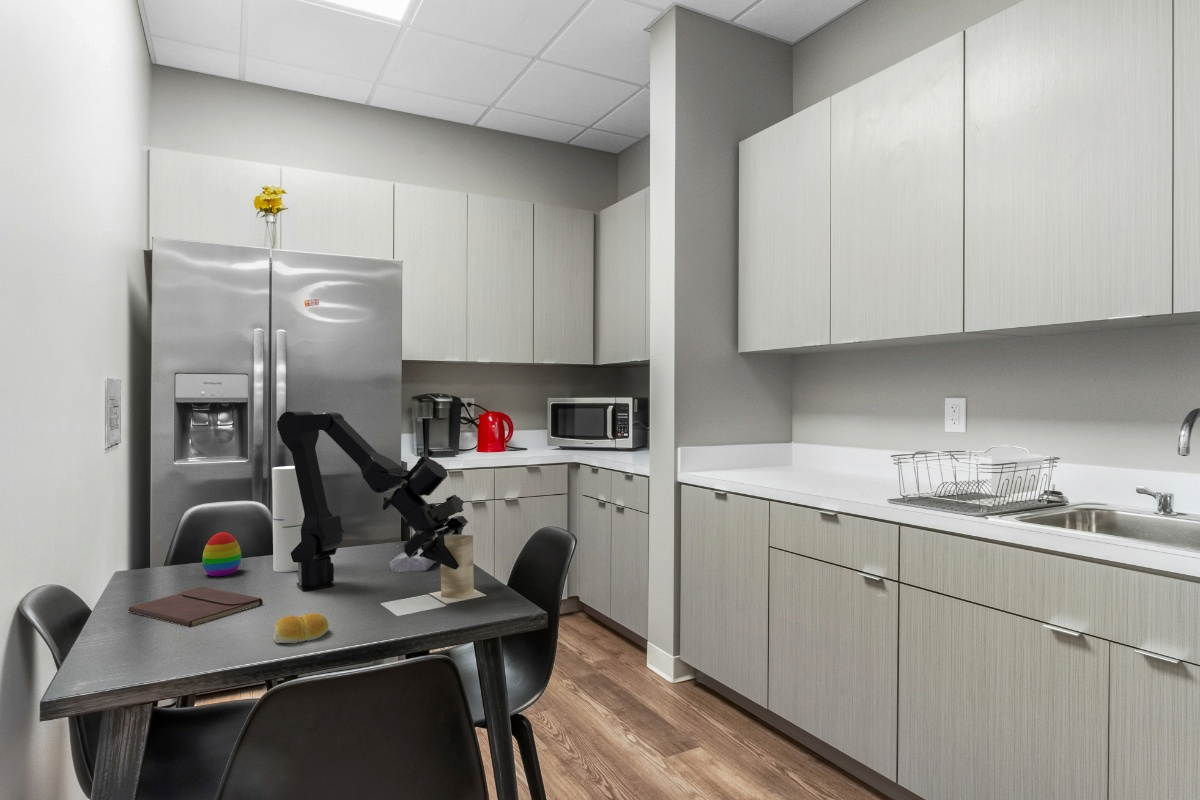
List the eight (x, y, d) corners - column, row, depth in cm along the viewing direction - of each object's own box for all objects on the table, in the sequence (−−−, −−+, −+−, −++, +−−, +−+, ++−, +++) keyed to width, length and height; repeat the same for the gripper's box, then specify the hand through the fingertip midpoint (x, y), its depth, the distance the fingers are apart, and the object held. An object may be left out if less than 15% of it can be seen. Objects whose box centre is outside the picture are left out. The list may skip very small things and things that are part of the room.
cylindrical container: (284, 564, 170) (283, 465, 170) (311, 565, 169) (309, 466, 169) (267, 571, 163) (265, 468, 163) (294, 572, 162) (293, 469, 162)
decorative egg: (220, 568, 166) (220, 528, 166) (249, 570, 165) (248, 529, 165) (194, 577, 158) (193, 535, 158) (224, 578, 157) (223, 536, 157)
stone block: (388, 581, 160) (428, 572, 160) (384, 561, 160) (424, 552, 160) (403, 570, 172) (441, 562, 172) (400, 551, 172) (437, 543, 172)
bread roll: (332, 638, 117) (332, 615, 117) (276, 649, 112) (276, 625, 112) (323, 624, 124) (322, 603, 124) (269, 635, 119) (269, 612, 119)
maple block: (441, 597, 139) (440, 539, 139) (452, 590, 144) (451, 534, 144) (463, 598, 138) (462, 540, 138) (473, 591, 143) (473, 535, 143)
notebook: (188, 630, 123) (188, 619, 123) (128, 615, 132) (128, 604, 132) (262, 606, 136) (262, 597, 136) (203, 594, 145) (203, 585, 145)
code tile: (446, 605, 134) (446, 603, 134) (428, 594, 142) (428, 593, 142) (486, 596, 140) (486, 595, 140) (468, 587, 147) (468, 585, 147)
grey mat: (397, 617, 127) (397, 616, 127) (380, 604, 135) (380, 603, 135) (446, 607, 133) (446, 605, 133) (427, 595, 141) (427, 594, 141)
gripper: (416, 490, 133) (468, 548, 130) (459, 479, 151) (505, 530, 148) (381, 528, 135) (431, 586, 132) (428, 513, 153) (473, 563, 150)
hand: (463, 564), depth 140 cm, fingers closed on maple block, 5 cm apart
